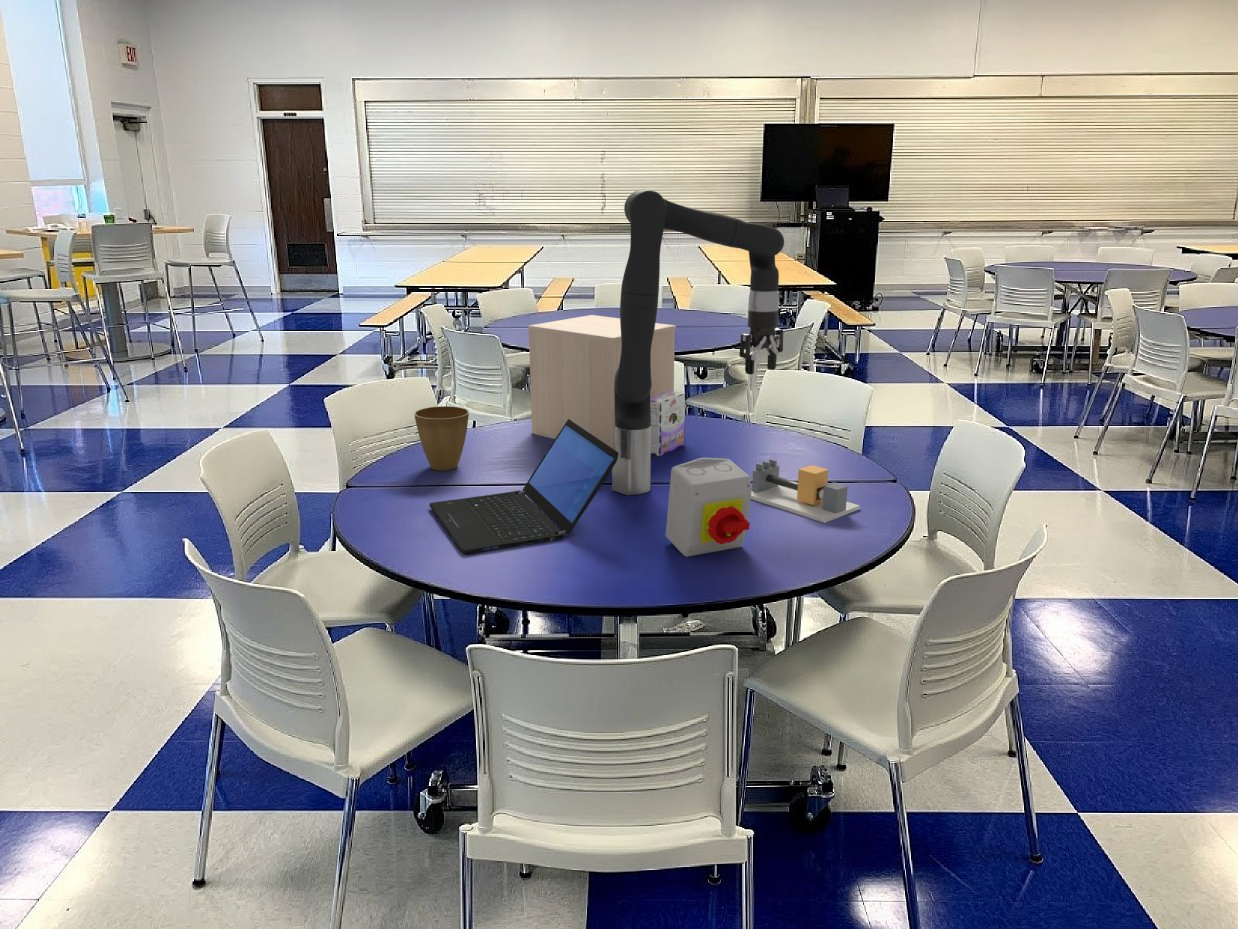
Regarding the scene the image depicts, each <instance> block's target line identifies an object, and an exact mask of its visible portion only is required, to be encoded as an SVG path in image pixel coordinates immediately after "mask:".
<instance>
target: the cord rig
mask: <svg viewBox="0 0 1238 929" xmlns="http://www.w3.org/2000/svg"><path fill="white" fill-rule="evenodd" d="M777 463H778V462H777V460H776V459H772V458H770V459H769V460H768V461H765V460H763V461H762V463H758V462H756V463H755V469H753V470H752V481H751V492H752V493H751V500H752V501H756V502H758V503H762V504H765V505H767V506H770V507H774V508H777V509H780V510H783V511H786V512H789V513H793V514H796V515H799V516H801V517H805V518H807V519H811V520H814V521H817V522H819V523H820V522H821V523H823V524H826V523H828V522H830V521H831V522H832V521H833V520H836V519H839V518H841V517H843V516H844V517H845V516H846V515H849V514H851V513H853V512H856V511H858V510H860V508H861V507H860V506H861V505H860V504H855V503H852V502H848V501H847V497H848V488H849V486H847V485H845V484H840V483H839V482H836V481H835V482H830V483H827V485H825V486H824V489H822V490H821V489H817V494H816V497H819V498H820V499H823V502H821V503H818V504H815V505H811V504H808V503H805V502H801V501H798V500H797V490H798V481H794V480H791V479H786V478H783V477H780V465H778V464H777Z"/></svg>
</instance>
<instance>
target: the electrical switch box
mask: <svg viewBox="0 0 1238 929" xmlns="http://www.w3.org/2000/svg"><path fill="white" fill-rule="evenodd" d="M751 478H752V477H751V476H750V475H749V474H748V473H747V472H746V471H744V470H743V469H741V467H739V465H737V464H735V463H734V462H733V461H732V460H730V459H729V458H718V457H717V458H716V457H699V458H696V459H693V460H690V461H687V462H684V463H680V464H678V465H675V466H672V468H671V472H670V481H669V491H668V492H669V493H668V503H667V513H666V514H667V515H666V524H665V526H666V527H665V537H666V539H668V540H669V541H670V543H672V545H673V546H674V547H675V548H676V549H677V550H678V551H679V553H680V554H682V555H683V556H684V557H686V558H688V557H693V556H698V555H703V554H710V553H715V552H720V551H725V550H726V551H727V550H731V549H738V548H741V547H742V545H743V543H744V541H745V539H746V536H747V531H748V530H750V525H751V523H750V522H749V515H750V507H751V500H752V499H751V493H752V492H751V491H752V480H751Z"/></svg>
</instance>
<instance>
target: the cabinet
mask: <svg viewBox="0 0 1238 929" xmlns="http://www.w3.org/2000/svg"><path fill="white" fill-rule="evenodd" d="M527 330H528V345H529V346H528V347H529V348H528V350H529V352H528V353H529V372H530V373H529V377H530V378H529V379H530V411H531V430H530V431H531V434H533V435H537V436H541V437H545V438H549V439H554V440H555V439H556V437H557V435H558V434H559V432H560V431H561V429H562V428H563V426H564V425H565V423H566V422H567V420H568V419H570V420H571V421H572V422H574V423H576V424H577V425H578V426H580V427H581V428H583V429H584V430H586V431H587V432H589V433H590V434H592V435H593V436H595V437H596V438H598V439H599V440H601V441H602V442H604V443H605V444H607V445H608V446H610V447H611V448H613V449H614V450H615V396H614V379H615V374H616V371H617V370H618V368H619V364H620V357H621V348H622V340H621V327H620V317H619V318H618V317H610V316H604V315H603V316H602V315H595V314H589V315H584V316H577V317H571V318H566V319H565V318H564V319H561V320H560V319H559V320H554V321H548V322H547V321H546V322H542V323H536V324H529V325H527ZM676 330H677V326H676V325H674V324H667V323H659V322H656V323H655V329H654V334H653V340H652V345H651V380H652V386H651V390H650V398H652V397H654V396H657V395H660V394H663V393H666V392H668V391H673V392H675V342H676V341H675V339H676V338H675V337H676V336H675V332H676Z"/></svg>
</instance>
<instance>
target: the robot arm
mask: <svg viewBox="0 0 1238 929" xmlns="http://www.w3.org/2000/svg"><path fill="white" fill-rule="evenodd" d="M623 208H624V209H623V211H624V214H625V218H626V219H627V220H628V222H629V223H630V244H629V245H630V246H629V254H628V259H627V262H626V265H625V268H624V272H623V277H622V281H621V288H620V290H621V291H620V301H619V318H620V327H621V340H622V348H621V357H620V364H619V368H618V370H617V371H616V374H615V379H614V396H615V451H617V452H618V453H619V455H618V459H617V462H616V463H615V465H614V466H613V468H612V470H611V478H612V479H611V482H612V483H611V484H612V485H611V490H612V491H614V492H618V493H620V494H622V495H625V496H630V495H631V496H632V495H642V494H646V493H648V492H650V490H651V468H652V467H651V456H652V454H651V407H650V390H651V386H652V380H651V345H652V340H653V334H654V329H655V323H657V313H658V308H659V307H658V305H659V295H660V294H659V292H660V275H661V274H660V273H661V272H660V270H661V267H660V266H661V263H660V262H661V258H660V257H661V248H662V240H663V235H664V230H670V231H675V232H678V233H682V234H685V235H689V236H691V237H694V238H698V239H701V240H704V241H706V242H709V243H713V244H717V245H720V246H724V247H729V248H734V249H740V250H744V251H747V252H748V257H749V259H748V260H749V266H750V278H749V279H750V283H749V286H750V287H749V295H748V307H747V308H748V311H747V327H748V328H749V329H750V331H749V333H741V334H740V339H739V340H740V343H739V357H740V358H743V359H744V361H745V362H744V372H745V374H748V375H754V373H755V358H756V355H757V354H759V353H760V351H761V350H764V349H765V350H766V352H767V353H768V354H767V370H770V371H774V370H776V367H777V360H778V358H777V356H779V353H782V352H784V351H783V350H784V329H783V328H782V329H781V328H778V324H779V306H780V305H779V304H780V303H779V302H780V298H779V284H780V283H779V282H780V271H779V269H778V267H777V266H776V256H777V255H778V254H781V253H780V252H782V250H783V248H784V246H785V237H784V236H783V233H782V232H781V231H780V230H779V229H777V228H775V227H773V226H772V227H771V226H767V225H764V224H763V225H762V224H758V223H754V222H753V223H752V222H747V221H745V220H743V219H740V218H737V217H733V216H731V215H730V216H729V215H725V214H722V213H719V212H713V211H708V210H702V209H699V208H693V207H689V206H685V205H683V204H678V203H676V202H673V201H670V200H667V199H665V198H664V197H663V196H662V195H661V194H660V193H659V192H657V191H655V190H652V189H647V188H646V189H637V190H636V191H633V192H632V193H631V194H630V195H629V196H628V197H627V198H626V199H625V202H624V205H623Z"/></svg>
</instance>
